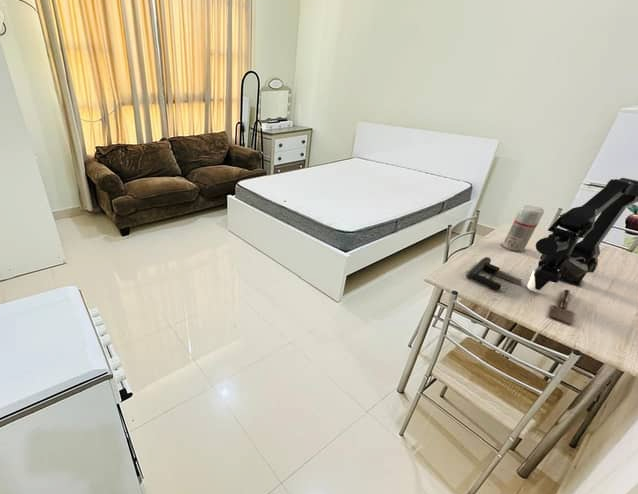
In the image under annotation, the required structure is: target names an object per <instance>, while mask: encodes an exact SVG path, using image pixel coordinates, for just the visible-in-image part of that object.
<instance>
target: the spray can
mask: <svg viewBox="0 0 638 494" xmlns="http://www.w3.org/2000/svg"><path fill="white" fill-rule="evenodd" d="M544 213H545V210H544V208H543V207H539V206H535V205H529V204H527V205H524V206H523V207H522V208H520V209H519V211H518V212H517V214H516V216H515V218H514V220H513V222H512V225H511V227H510V229H509V231H508V233H507V235H506V237H505V239H504V241H503V242H502V247H504V248H505V249H507V250H510V251H513V252H523V251H525V249H526V247H527V245H528V244H529V241H530V240H531V238H532V236H533V234H534V232H535V231H536V228H537V226H539V223H540V221H541V219H542V217H543V215H544Z"/></svg>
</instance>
